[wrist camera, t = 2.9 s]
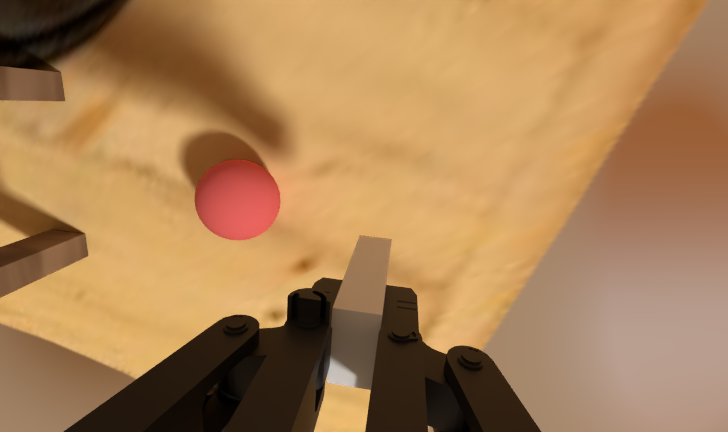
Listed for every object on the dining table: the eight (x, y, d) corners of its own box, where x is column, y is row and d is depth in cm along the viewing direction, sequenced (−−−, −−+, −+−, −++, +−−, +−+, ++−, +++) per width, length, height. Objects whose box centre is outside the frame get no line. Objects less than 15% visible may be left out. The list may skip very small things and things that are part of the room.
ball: (220, 221, 28) (179, 247, 23) (218, 150, 27) (173, 161, 22) (289, 229, 28) (263, 257, 23) (291, 158, 26) (263, 171, 21)
